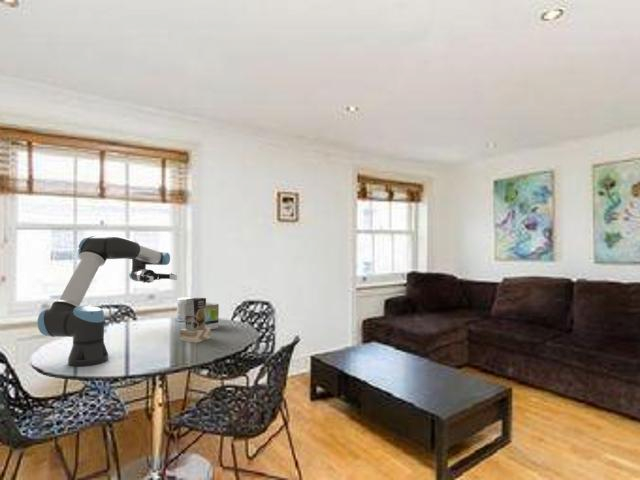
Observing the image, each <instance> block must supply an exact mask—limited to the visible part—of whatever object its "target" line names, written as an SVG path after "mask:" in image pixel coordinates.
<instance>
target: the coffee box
mask: <svg viewBox="0 0 640 480" xmlns="http://www.w3.org/2000/svg"><path fill="white" fill-rule="evenodd" d="M191 298H192V297H191ZM206 302H207V298H206V297H193V298H192V299H186V322H185V327H184V329H187V330H198V329H202V328H205V321H206Z"/></svg>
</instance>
